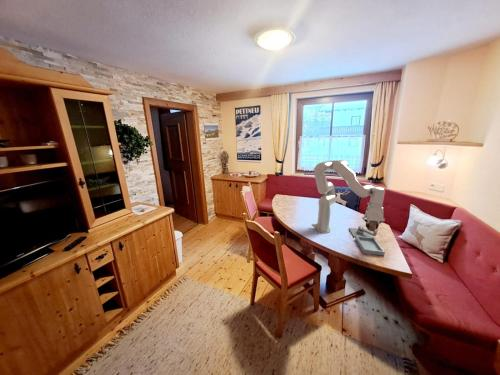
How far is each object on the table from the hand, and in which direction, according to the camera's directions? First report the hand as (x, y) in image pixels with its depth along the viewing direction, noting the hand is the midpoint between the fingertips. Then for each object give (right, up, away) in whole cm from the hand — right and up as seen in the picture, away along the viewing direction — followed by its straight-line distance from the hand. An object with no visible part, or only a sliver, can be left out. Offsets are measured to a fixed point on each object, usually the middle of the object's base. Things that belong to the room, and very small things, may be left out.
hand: (371, 228), depth 138 cm
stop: (0, -1, 0) cm, 1 cm away
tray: (+1, -15, +4) cm, 16 cm away
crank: (+7, -8, +18) cm, 21 cm away
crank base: (+5, -10, +23) cm, 25 cm away
